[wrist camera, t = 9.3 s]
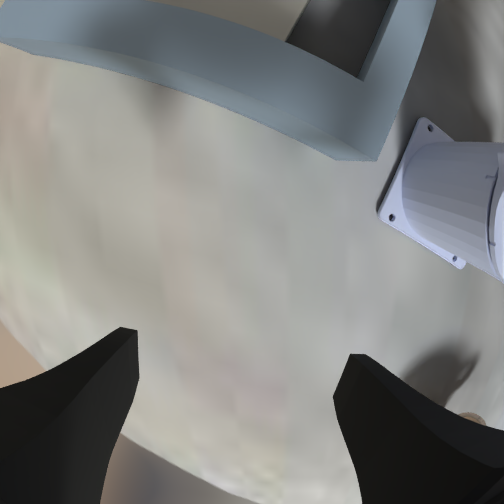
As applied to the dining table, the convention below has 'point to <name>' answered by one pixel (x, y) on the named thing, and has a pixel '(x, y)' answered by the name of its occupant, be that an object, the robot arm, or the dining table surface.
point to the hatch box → (237, 60)
